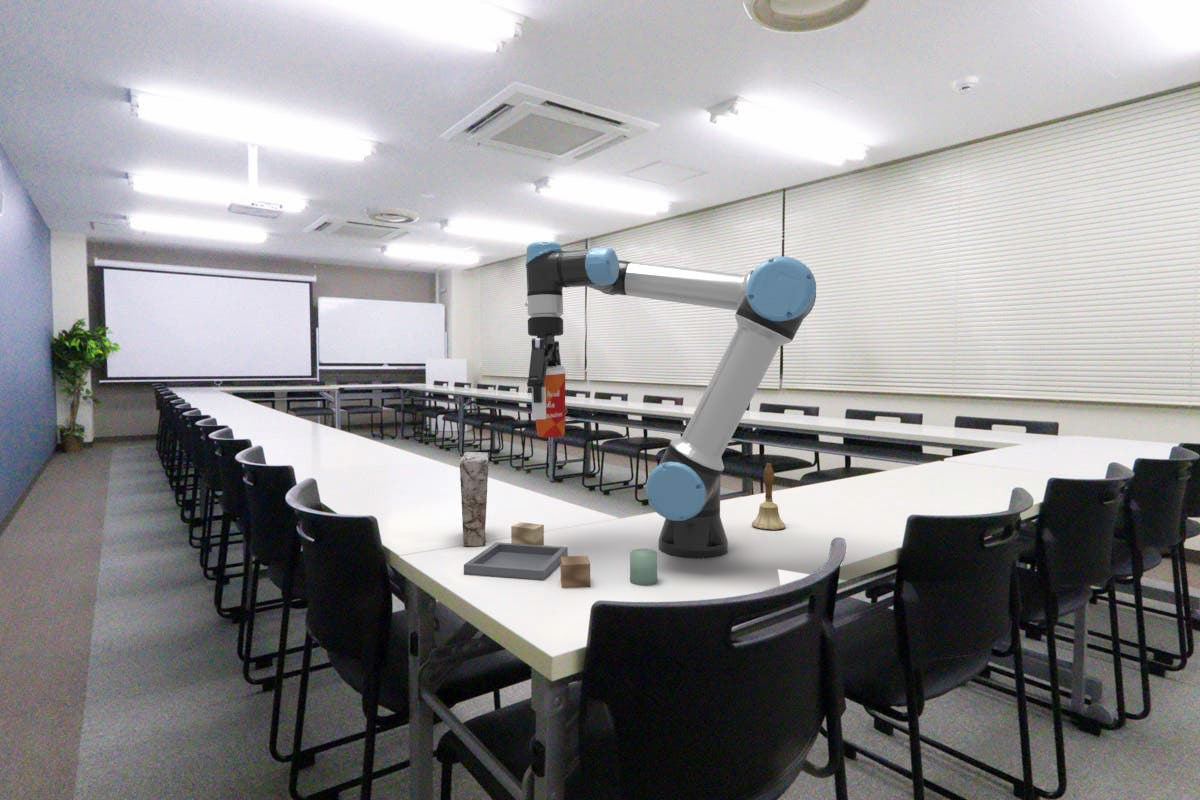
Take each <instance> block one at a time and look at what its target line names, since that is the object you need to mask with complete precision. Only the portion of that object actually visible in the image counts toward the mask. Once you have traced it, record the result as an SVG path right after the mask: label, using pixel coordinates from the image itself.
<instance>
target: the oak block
mask: <svg viewBox="0 0 1200 800" xmlns="http://www.w3.org/2000/svg"><path fill="white" fill-rule="evenodd" d="M510 534H511V537H510V539H511V540H510V542H511V543H514V544H529V545H543V546H545V525H544V524H539V523H529V522H521V521H520V522H518V523H516V524H514V525H512V526H511V528H510Z"/></svg>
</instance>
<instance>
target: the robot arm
mask: <svg viewBox="0 0 1200 800" xmlns="http://www.w3.org/2000/svg"><path fill="white" fill-rule="evenodd" d="M525 259H526V263H525V268H526V288H527V289H526V290H527V291H526V294H527V295H526V296H527V301H525V303H524V305H525V307H527V315H528V316H530V317H529V318H528V319H527V334H528V335H529V336H531V337H534V338H531V353H530V360H529V369H528V378H527V382H526V387H527V388H531V414H532V415H531V416H532V418H531V419H532V420H536V419H546V388H545V387H543V386H544V381H545V376H546V371H547V366H562V363H561V360H562V359H561V355H560V342H559V340H555V337H559V336H563V334H564V319H563V318H562V316H563V315H564V300H563V295H564V294H563V288H579V287H580V288H581V287H582V288H583V287H586V288H587V287H588V288H590V289H593V290H596V291H599V292H601V293H603V294H605V295H611V296H616V295H620V296H627V297H628V296H629V297H634V298H635V297H636V298H644V299H651V300H659V301H665V302H672V303H678V304H679V303H680V304H687V305H694V306H702V307H709V308H716V309H723V310H731V311H736V312H735V314H734V317H735V320H736V325H737V328H736V329H735V332H734V334H733V336H732V337H731V340H730V341H729V343H728V346H727V348H726V349H725V352H724V353H723V355H722V357H721V359H720V361H719V363H718V365H717V366H716V369H715V371H714V373H713V375H712V377H711V379H710V381H709V383H708V384H707V386H706V389H705V390H704V392H703V394H702V396H701V399H700V400H699V402H698V404H697V406H696V408H695V410H694V412H693V414H692V416H691V418H690V420H689V422H688V424H687V426H686V428H685V430H684V432H683V433H682V435H681V436H680V437H677V438H674V439H671V441H670V442H669V444H668V446H667V448H666V449H665V452H664V454H663V455H662V457H661V459H660V462H659V463H658V465H656V466H655V467H654V468H653V469H652V470H651V471H650V473H649V475H648V478H647V480H646V483H645V484H646V485H645V493H646V494H645V495H646V497H647V501H648V503H649V505H650V506H651V508H652V510H653V511H654V512H656V513H657V514H658V515H659V516H661V517H662V518H664V522H663V525H662V528H661V531H660V534H659V537H658V551H660V552H661V553H662V554H665V555H668V556H672V557H677V558H682V559H683V558H684V559H695V560H696V559H713V558H719V557H722V556H725V555H727V554H728V551H729V542H728V538H727V535H726V531H725V529H724V525H723V523H722V518H721V478H722V477H721V474H722V473H723V471H724V469H725V465H724V462H723V459H722V456H723V454H724V452H725V451H726V449H727V446H728V445H729V443H730V441H731V439H732V437H733V435H734V434H735V432H736V430H737V428H738V426H739V424H740V422H741V420H742V418H743V417H744V414H745V413H746V410H747V409H748V407H749V405H750V403H751V401H752V399H753V398H754V396H755V393H756V392H757V390H758V388H759V386H760V384H761V383H762V381H763V379H764V376H765V375H766V374H767V371H768V369H769V368H770V366H771V363H772V361H773V359H774V358H775V356H776V354H777V352H778V350H779V348H780V347H782V346H785V345H786V344H789V343H792V342H793V340H794V339H795V336H796V335H797V332H798V330H799V328H800V327H801V324H802V323H803V321H804V319H805V318H806V317H807V316H808V315H809V314H810V313H811V312H812V310H813V308H814V306H815V303H816V299H817V282H816V278H815V275H814V274H813V272H812V271H811V270H812V269H810V268H809V267H808V266H807V265H806V264H805V263H803V262H802V261H800V260H799V259H796V258H794V257H791V256H775V257H771V258H768V259H766V260H764V261H763V262H761V263H760V264H759V265H757V266H756V268H755V269H753V270H750V271H748V272H747V273H745V274H741V273H739V274H738V273H730V272H725V271H724V272H722V271H713V270H705V269H697V268H689V267H681V266H680V267H679V266H670V265H662V264H656V263H655V264H654V263H644V262H636V261H628V260H619V259H618V255H617V254H616V250H614V249H613V248H612V247H599V246H597V247H596V246H595V247H593V248H586V249H585V248H581V249H574V250H562V246H561V244H560V243H559V242H556V241H543V240H542V241H535V242H531V243H530V244H528V246H527V247H526V258H525ZM535 337H536V338H535Z"/></svg>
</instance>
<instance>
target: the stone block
mask: <svg viewBox="0 0 1200 800" xmlns="http://www.w3.org/2000/svg"><path fill="white" fill-rule="evenodd" d="M459 460H460V461H459V475H460V478H459V480H460V494H461V516H462V519H461V520H462V537H463V546H465V547H466V546H467V547H485V546H486V540H487V539H486V519H487V503H488V478H489V453H488V452H484V451H483V452H480V451H478V452H477V451H465V452H463V456H462V457H460V459H459Z"/></svg>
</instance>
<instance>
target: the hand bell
mask: <svg viewBox="0 0 1200 800" xmlns="http://www.w3.org/2000/svg"><path fill="white" fill-rule="evenodd" d="M774 480H775V472H774V469H773V466H772V462H770V463H769V462H767V463H765V467H764V470H763V482H764V486H765V496H764V497H765V499H764V501H763V502H762V503H760V504H759V509H758V513H757V515H756V518H755V519H754V520H753V521H752V522H751V526H752V527H754V528H758V529H762V530H772V531H773V530H775V531H776V530H783V529H785V528H786V524H785V523H784V522H783V520H782V519H781V517H780V514H779V513H780V512H779V506H778V504H777V503H775V502H773V485H774Z"/></svg>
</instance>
